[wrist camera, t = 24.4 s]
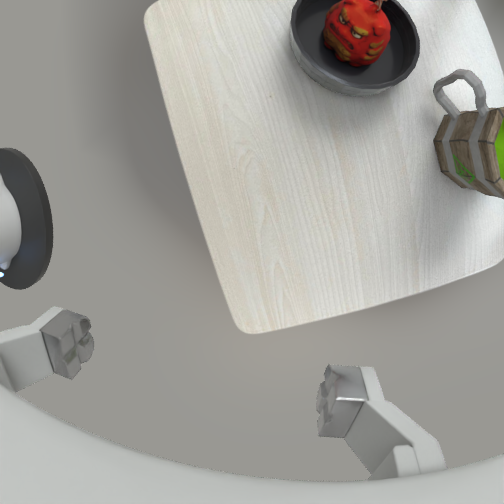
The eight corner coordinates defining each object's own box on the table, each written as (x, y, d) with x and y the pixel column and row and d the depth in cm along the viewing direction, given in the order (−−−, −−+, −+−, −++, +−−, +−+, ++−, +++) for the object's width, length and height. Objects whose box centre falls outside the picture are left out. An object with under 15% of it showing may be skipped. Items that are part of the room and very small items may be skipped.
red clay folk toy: (308, 34, 28) (320, -29, 14) (347, 7, 26) (377, -57, 12) (353, 79, 30) (395, 38, 16) (391, 50, 28) (445, 5, 14)
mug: (502, 160, 30) (557, 170, 19) (459, 204, 33) (512, 226, 22) (445, 65, 28) (495, 44, 16) (395, 105, 31) (439, 90, 19)
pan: (284, 84, 32) (284, 74, 27) (296, -12, 27) (297, -31, 22) (400, 109, 31) (416, 104, 26) (405, 13, 26) (418, -1, 21)
